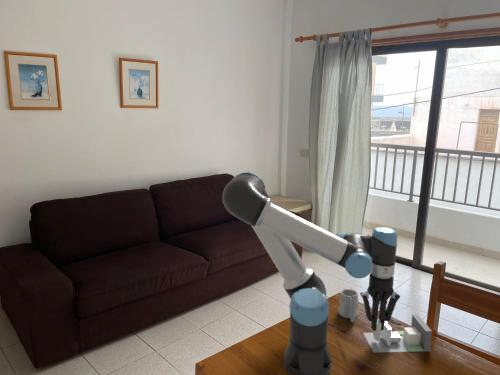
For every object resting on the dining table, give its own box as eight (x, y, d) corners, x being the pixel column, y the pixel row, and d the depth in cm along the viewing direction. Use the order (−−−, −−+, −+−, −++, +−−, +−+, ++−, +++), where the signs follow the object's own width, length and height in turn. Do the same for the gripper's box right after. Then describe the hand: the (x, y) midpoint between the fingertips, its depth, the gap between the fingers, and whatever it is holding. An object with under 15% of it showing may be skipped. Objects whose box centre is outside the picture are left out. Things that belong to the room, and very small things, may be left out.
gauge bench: (373, 355, 126) (375, 333, 125) (362, 335, 137) (364, 315, 135) (430, 354, 127) (432, 332, 125) (415, 334, 138) (417, 313, 136)
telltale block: (408, 344, 130) (409, 334, 129) (403, 337, 134) (404, 327, 133) (419, 344, 130) (420, 334, 129) (414, 337, 134) (415, 327, 133)
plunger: (386, 345, 129) (388, 329, 127) (380, 335, 134) (381, 319, 133) (402, 345, 129) (403, 329, 127) (395, 334, 135) (396, 319, 133)
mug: (355, 310, 154) (357, 283, 151) (363, 327, 142) (365, 297, 140) (336, 310, 154) (337, 282, 151) (342, 327, 142) (344, 297, 140)
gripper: (366, 279, 122) (361, 345, 127) (406, 279, 123) (399, 344, 128) (358, 269, 130) (354, 332, 135) (396, 269, 130) (390, 331, 135)
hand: (376, 338), depth 131 cm, fingers closed
